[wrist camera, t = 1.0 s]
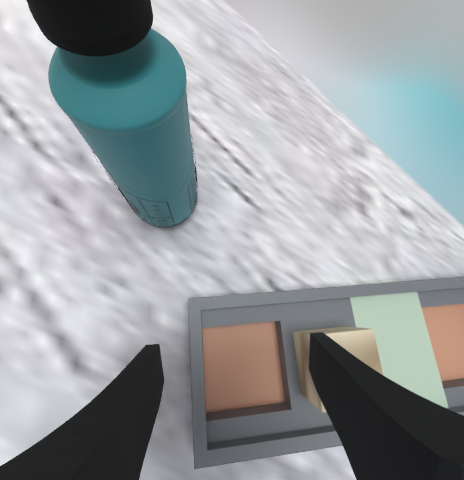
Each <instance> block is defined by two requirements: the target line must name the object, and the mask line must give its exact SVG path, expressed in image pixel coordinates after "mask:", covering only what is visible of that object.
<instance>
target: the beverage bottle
mask: <svg viewBox="0 0 464 480" xmlns="http://www.w3.org/2000/svg"><path fill="white" fill-rule="evenodd" d="M27 2H28V5H29V9H30V11H31V13H32V15H33V17H34V19H35V21H36V22H37V24H38V26H39V28H40V29H41V31H42V32H43V34H44V35H45V36H46V38H47V39H48V40H49V41H51V42H52V43H53V44H54V45H56V46H57V48H56V50H55V52H54V54H53V56H52V59H51V62H50V66H49V72H48V75H49V85H50V89H51V92H52V95H53V97H54V98H55V100H56V102H57V103H58V105H59V106H60V108H61V109H62V110H63V111H64V112H65V114H66V115H68V116H69V118H70V119H71V121H72V122H73V123H74V125H75V126H76V128H77V129H78V130H79V132H80V133H81V135H82V136H83V137H84V139H85V140H86V142H87V143H88V145H89V146H90V147H91V149H92V150H93V153H95V154H96V156H97V157H98V159H99V160H100V162H101V163H102V165H103V167H104V168H105V169H106V171H107V172H108V175H110V176H111V178H112V179H113V181H114V182H115V183H116V185H117V186H118V189H119V191H120V192H121V193H122V196H123V197H125V199H126V200H127V201H129V202H130V203H129V202H128V204H129V205H130V204H131V205H132V206H133V207H132V206H131V205H130V206H131V208H132V209H133V208H134V209H135V210H134V209H133V210H134V211H135V213H136V212H137V213H138V214H139V215H138V214H137V213H136V214H137V215H138V216H140V217H141V218H142V219H141V220H143V219H144V220H145V221H146V222H148V223H150V225H151V224H153V225H154V226H155V225H157V226H159V227H167V226H173V225H175V224H178V223H180V222H182V221H183V220H185V219H186V218H187V217H188V216H189V215H190V214H191V212H192V211H193V209H194V207H195V206H196V205H195V204H196V203H197V202H198V201H196V200H198V199H197V198H198V197H197V192H196V182H197V176H196V177H195V174H197V173H196V167H195V168H194V159H193V152H194V151H193V150H194V149H192V145H193V144H194V143H193V144H192V143H191V137H192V136H191V134H190V124H189V114H188V104H187V94H186V71H185V66H184V63H183V60H182V58H181V56H180V55H179V53H178V51H177V50H176V48H175V47H174V46H173V45H172V44H171V43H170V42H169V41H168V40H167V39H166V38H165V37H163V36H162V35H161V34H159V33H158V32H156V31H155V30H153V29H151V26H152V22H153V13H152V7H151V1H150V0H27ZM192 140H193V139H192ZM94 156H95V155H94ZM95 158H96V157H95ZM194 158H195V157H194ZM96 160H97V159H96ZM97 162H98V161H97ZM195 162H196V160H195ZM100 167H101V166H100ZM194 169H195V170H194ZM109 178H110V177H109ZM195 178H196V181H195ZM110 180H111V179H110ZM112 183H113V182H112ZM115 183H114V184H115ZM116 185H115V186H116ZM197 187H198V185H197ZM195 208H196V207H195Z"/></svg>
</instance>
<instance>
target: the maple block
mask: <svg viewBox="0 0 464 480" xmlns="http://www.w3.org/2000/svg"><path fill="white" fill-rule="evenodd" d="M318 332H323V333H324V334H326V335H327V336H329V337H330V338H331V339H332V340H334V341H335V342H336V343H338V344H339V345H340V346H342V347H343V348H344V349H346V350H347V351H348V352H350V353H351V354H352V355H354V356H355V357H357V358H358V359H359V360H361V361H362V362H364V363H365V364H367V365H368V366H370V367H371V368H373V369H374V370H376V371H377V372H379V373H380V374H382V375H383V372H382V367H381V362H380V358H379V353H378V349H377V344H376V340H375V335H374V330H373V329H368V328H358V327H348V326H342V327H332V328H322V329H312V330H302V331H293V337H294V345H295V352H296V359H297V366H298V373H299V381H300V388H301V395H303V396H304V397H305V398H306V399H307V400H308V401H310V402H311V403H312V404H313V405H314V406H315V407H317V408H318V409H319V410H320V411H321V412H322V413H324V412H326V410H325V408H324V406H323V404H322V402H321V399H320V397H319V395H318V393H317V391H316V388H315V386H314V383H313V380H312V377H311V374H310V371H309V347H310V333H318Z"/></svg>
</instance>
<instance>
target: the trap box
mask: <svg viewBox="0 0 464 480" xmlns="http://www.w3.org/2000/svg"><path fill="white" fill-rule="evenodd" d="M188 309H189V337H190V364H191V392H192V420H193V447H194V469H197V468H204V467H210V466H216V465H223V464H229V463H235V462H241V461H248V460H254V459H260V458H267V457H273V456H279V455H285V454H292V453H298V452H304V451H311V450H317V449H323V448H329V447H336V446H342V443H341V440H340V438H339V436H338V434H337V432H336V430H335V428H334V426H333V424H332V422H331V420H330V418H329V416H328V414H327V412H324V413H322V412H321V411H320V410H319V409H318V408H317V407H315V406H314V405H313V404H312V403H311V402H310V401H308V400H307V399H306V398H305V397H304V396H303V395H301V388H300V381H299V373H298V366H297V359H296V352H295V345H294V337H293V331H302V330H312V329H322V328H332V327H342V326H348V327H358V328H368V329H373V330H374V335H375V340H376V344H377V349H378V353H379V358H380V362H381V367H382V372H383V376H385V377H387V378H388V379H390V380H392V381H394V382H395V383H397V384H399V385H401V386H402V387H404V388H406V389H408V390H410V391H412V392H413V393H415V394H417V395H419V396H421V397H423V398H426V399H428V400H430V401H432V402H434V403H436V404H438V405H440V406H442V407H445V408H447V409H449V410H451V411H454V412H456V413H459V414H461V415H463V416H464V277H456V278H444V279H431V280H418V281H406V282H393V283H381V284H368V285H356V286H343V287H330V288H318V289H305V290H293V291H280V292H267V293H255V294H242V295H230V296H217V297H204V298H192V299H188Z"/></svg>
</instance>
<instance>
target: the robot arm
mask: <svg viewBox="0 0 464 480" xmlns="http://www.w3.org/2000/svg"><path fill="white" fill-rule="evenodd" d="M309 371H310V374H311V377H312V380H313V383H314V386H315V388H316V391H317V393H318V395H319V397H320V399H321V402H322V404H323V406H324V408H325V410H326V412H327V414H328V416H329V418H330V420H331V422H332V424H333V426H334V428H335V430H336V432H337V434H338V436H339V438H340V440H341V443H342V445H343V447H344V449H345V451H346V454H347V456H348V459H349V461H350V464H351V467H352V469H353V472H354V474H355V477H356V479H357V480H464V416H463V415H461V414H459V413H456V412H454V411H451V410H449V409H447V408H445V407H442V406H440V405H438V404H436V403H434V402H432V401H430V400H428V399H426V398H423V397H421V396H419V395H417V394H415V393H413V392H412V391H410V390H408V389H406V388H404V387H402V386H401V385H399V384H397V383H395V382H394V381H392V380H390V379H388V378H387V377H385V376H383V375H382V374H380V373H379V372H377V371H376V370H374V369H373V368H371V367H370V366H368V365H367V364H365V363H364V362H362V361H361V360H359V359H358V358H357V357H355V356H354V355H352V354H351V353H350V352H348V351H347V350H346V349H344V348H343V347H342V346H340V345H339V344H338V343H336V342H335V341H334V340H332V339H331V338H330V337H329V336H327V335H326V334H324V333H323V332H318V333H310V347H309ZM163 384H164V376H163V369H162V361H161V354H160V347H159V344H154V345H146V346H145V347H144V348H143V349H142V350H141V351H140V352H139V353H138V354H137V355H136V357H135V358H134V359H133V360H132V361H131V362H130V363H129V364H128V365H127V366H126V368H125V369H124V370H123V371H122V372H121V373H120V374H119V375H118V376H117V377H116V378H115V379H114V380H113V381H112V382H111V383H110V384H109V385H108V386H107V387H106V388H105V389H104V390H103V391H102V392H101V393H100V394H99V395H98V396H97V397H95V398H94V399H93V400H92V401H91V402H90V403H89V404H87V405H86V406H85V407H84V408H83V409H81V410H80V411H79V412H78V413H77V414H75V415H74V416H73V417H72V418H70V419H69V420H68V421H66V422H65V423H64V424H62V425H61V426H60V427H58V428H57V429H56V430H54V431H53V432H52V433H50V434H49V435H48V436H46V437H45V438H43V439H42V440H40V441H39V442H37V443H36V444H35V445H33V446H32V447H30V448H29V449H27V450H25V451H24V452H22V453H21V454H19V455H18V456H16V457H15V458H13V459H11V460H10V461H8V462H7V463H5V464H3V465H2V466H0V480H139V477H140V472H141V468H142V465H143V461H144V457H145V454H146V450H147V447H148V443H149V440H150V437H151V433H152V430H153V426H154V423H155V419H156V416H157V412H158V409H159V405H160V401H161V396H162V390H163Z"/></svg>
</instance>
